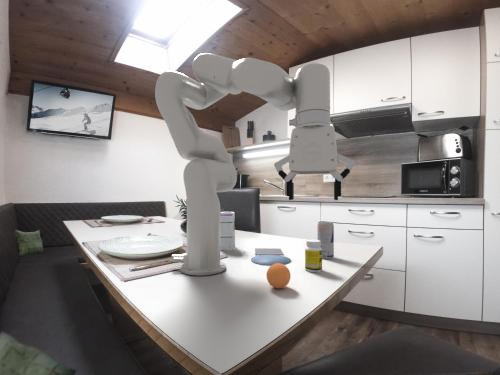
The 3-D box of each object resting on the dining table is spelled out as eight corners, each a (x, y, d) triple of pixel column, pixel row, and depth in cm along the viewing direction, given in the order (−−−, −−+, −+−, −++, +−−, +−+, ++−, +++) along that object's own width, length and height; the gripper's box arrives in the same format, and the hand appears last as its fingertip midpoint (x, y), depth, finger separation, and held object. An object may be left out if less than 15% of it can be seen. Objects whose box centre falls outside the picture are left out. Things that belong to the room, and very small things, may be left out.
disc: (250, 265, 79) (250, 264, 79) (251, 255, 92) (251, 254, 92) (293, 265, 78) (293, 264, 78) (288, 255, 91) (288, 254, 91)
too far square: (255, 254, 92) (255, 254, 92) (255, 248, 102) (255, 248, 102) (283, 255, 92) (283, 254, 92) (280, 249, 102) (280, 248, 102)
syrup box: (234, 250, 99) (234, 212, 100) (218, 250, 99) (218, 212, 100) (235, 247, 105) (235, 211, 105) (220, 247, 105) (220, 211, 105)
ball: (267, 292, 57) (267, 266, 57) (265, 283, 63) (265, 260, 63) (292, 292, 57) (292, 267, 57) (288, 283, 63) (288, 260, 63)
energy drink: (335, 256, 90) (335, 222, 90) (331, 260, 85) (331, 223, 85) (320, 254, 92) (320, 221, 93) (315, 257, 88) (315, 222, 88)
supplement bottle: (322, 273, 71) (322, 242, 71) (305, 272, 72) (305, 241, 72) (321, 268, 76) (321, 239, 76) (304, 267, 77) (304, 238, 77)
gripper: (271, 121, 57) (271, 200, 56) (356, 115, 52) (357, 200, 52) (277, 129, 64) (277, 199, 64) (352, 124, 59) (353, 199, 59)
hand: (313, 199), depth 58 cm, fingers open, 9 cm apart
